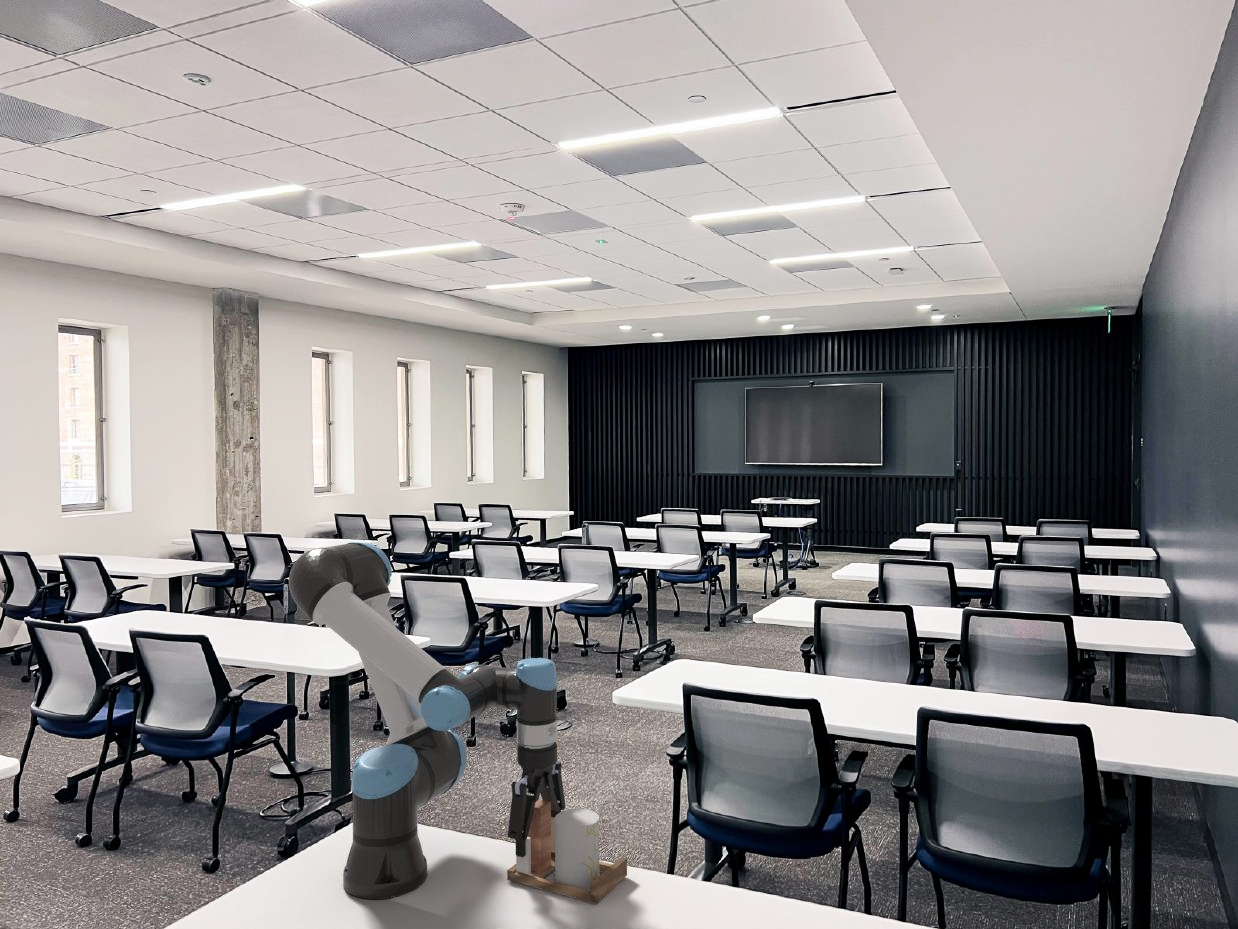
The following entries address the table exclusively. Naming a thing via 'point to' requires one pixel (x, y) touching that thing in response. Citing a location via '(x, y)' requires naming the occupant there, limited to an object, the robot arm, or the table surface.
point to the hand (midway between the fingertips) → (537, 861)
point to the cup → (577, 847)
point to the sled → (546, 863)
